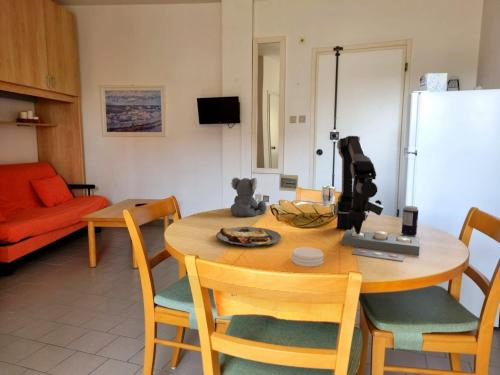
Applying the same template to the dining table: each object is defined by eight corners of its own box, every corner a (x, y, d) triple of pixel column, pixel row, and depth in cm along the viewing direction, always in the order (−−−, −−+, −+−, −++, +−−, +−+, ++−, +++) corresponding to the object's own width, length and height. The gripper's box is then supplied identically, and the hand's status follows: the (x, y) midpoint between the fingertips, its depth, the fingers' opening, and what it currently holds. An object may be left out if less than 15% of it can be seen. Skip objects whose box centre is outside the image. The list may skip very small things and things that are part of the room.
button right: (396, 248, 125) (397, 239, 125) (396, 244, 129) (397, 236, 129) (409, 249, 123) (410, 241, 123) (409, 246, 127) (410, 238, 127)
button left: (350, 242, 132) (351, 234, 131) (352, 239, 136) (352, 231, 135) (362, 243, 130) (363, 235, 129) (364, 240, 134) (364, 233, 133)
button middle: (373, 241, 128) (373, 233, 128) (374, 238, 132) (374, 230, 132) (386, 242, 126) (386, 234, 126) (386, 239, 130) (387, 232, 130)
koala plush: (268, 213, 183) (269, 176, 181) (251, 219, 168) (252, 179, 165) (240, 209, 192) (240, 174, 189) (221, 215, 177) (222, 177, 174)
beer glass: (318, 214, 182) (320, 186, 180) (331, 214, 183) (333, 186, 180) (322, 217, 175) (324, 187, 173) (336, 217, 176) (337, 187, 174)
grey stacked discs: (329, 263, 110) (330, 253, 110) (307, 270, 104) (307, 258, 104) (307, 254, 118) (307, 244, 118) (285, 260, 112) (285, 250, 112)
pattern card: (351, 254, 119) (351, 253, 119) (354, 248, 125) (354, 247, 125) (402, 261, 112) (402, 260, 112) (402, 255, 119) (403, 254, 119)
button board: (341, 244, 129) (341, 237, 129) (346, 236, 140) (346, 229, 140) (418, 255, 119) (419, 246, 118) (417, 245, 130) (418, 237, 129)
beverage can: (417, 237, 140) (420, 208, 139) (402, 236, 141) (405, 207, 140) (414, 234, 146) (416, 206, 144) (399, 233, 147) (402, 205, 145)
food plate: (218, 249, 121) (218, 239, 121) (214, 232, 144) (214, 224, 144) (287, 249, 125) (287, 239, 125) (273, 232, 148) (273, 224, 148)
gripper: (381, 199, 118) (378, 243, 121) (384, 191, 135) (382, 230, 138) (348, 196, 123) (345, 239, 125) (355, 189, 140) (353, 227, 142)
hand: (358, 233), depth 132 cm, fingers closed, pressing on button left
